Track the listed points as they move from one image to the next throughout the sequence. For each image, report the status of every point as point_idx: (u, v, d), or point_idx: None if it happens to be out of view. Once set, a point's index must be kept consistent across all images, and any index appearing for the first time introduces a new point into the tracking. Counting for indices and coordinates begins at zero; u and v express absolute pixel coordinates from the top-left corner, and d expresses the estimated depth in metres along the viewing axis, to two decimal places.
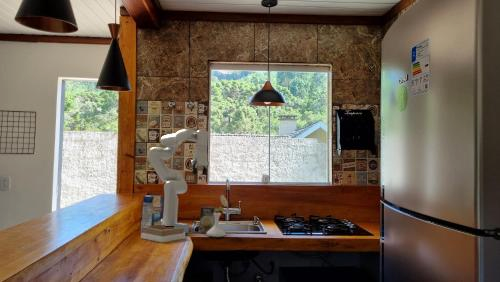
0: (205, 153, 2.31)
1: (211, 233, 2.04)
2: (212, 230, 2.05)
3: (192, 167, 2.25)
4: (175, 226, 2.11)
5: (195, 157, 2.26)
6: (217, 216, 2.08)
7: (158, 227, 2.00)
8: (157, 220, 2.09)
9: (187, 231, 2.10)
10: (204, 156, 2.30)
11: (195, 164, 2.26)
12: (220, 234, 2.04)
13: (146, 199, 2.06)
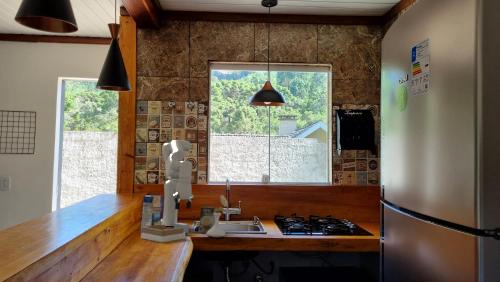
0: (189, 186, 2.14)
1: (211, 233, 2.04)
2: (212, 230, 2.05)
3: (174, 202, 2.08)
4: (175, 226, 2.11)
5: (178, 191, 2.09)
6: (217, 216, 2.08)
7: (158, 227, 2.00)
8: (157, 220, 2.09)
9: (187, 231, 2.10)
10: (188, 189, 2.13)
11: (178, 198, 2.09)
12: (220, 234, 2.04)
13: (146, 199, 2.06)
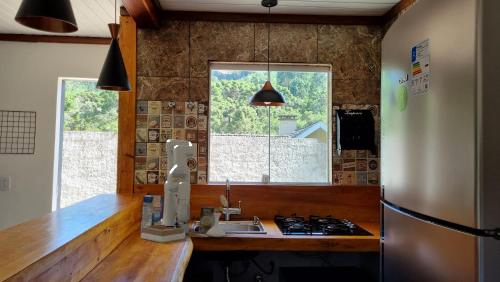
0: (187, 207, 2.13)
1: (211, 233, 2.04)
2: (212, 230, 2.05)
3: (175, 225, 2.09)
4: (175, 226, 2.11)
5: (176, 213, 2.08)
6: (217, 216, 2.08)
7: (158, 227, 2.00)
8: (157, 220, 2.09)
9: (187, 231, 2.10)
10: (186, 211, 2.12)
11: (177, 221, 2.09)
12: (220, 234, 2.04)
13: (146, 199, 2.06)
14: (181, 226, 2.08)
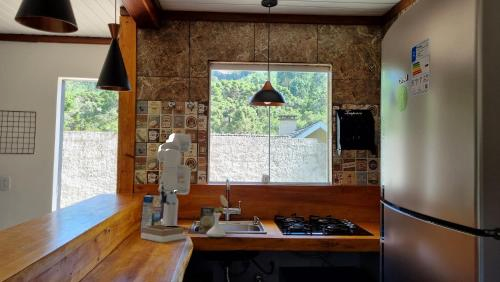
0: (174, 176, 1.99)
1: (211, 233, 2.04)
2: (212, 230, 2.05)
3: (161, 195, 1.95)
4: (161, 196, 1.97)
5: (162, 181, 1.94)
6: (217, 216, 2.08)
7: (158, 227, 2.00)
8: (157, 220, 2.09)
9: (174, 201, 1.96)
10: (173, 179, 1.98)
11: (163, 191, 1.95)
12: (220, 234, 2.04)
13: (146, 199, 2.06)
14: (167, 195, 1.94)
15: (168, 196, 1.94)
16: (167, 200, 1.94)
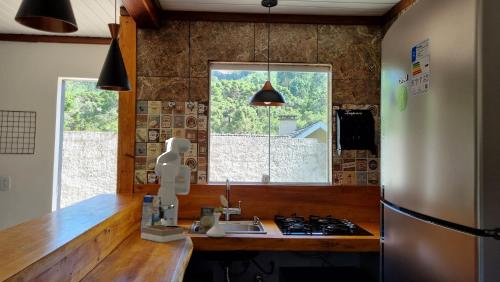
0: (172, 191, 1.97)
1: (211, 233, 2.04)
2: (212, 230, 2.05)
3: None
4: None
5: (159, 196, 1.92)
6: (217, 216, 2.08)
7: (158, 227, 2.00)
8: (157, 220, 2.09)
9: (172, 216, 1.94)
10: (171, 194, 1.96)
11: (161, 206, 1.93)
12: (220, 234, 2.04)
13: (146, 199, 2.06)
14: (165, 211, 1.92)
15: (166, 211, 1.92)
16: (165, 216, 1.92)
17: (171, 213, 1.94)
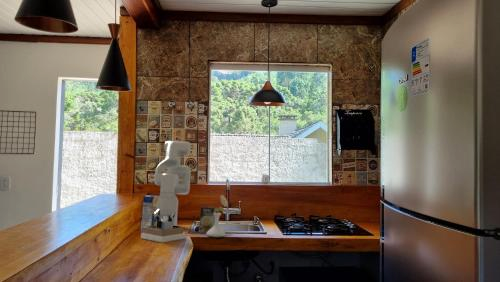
0: (171, 201, 1.96)
1: (211, 233, 2.04)
2: (212, 230, 2.05)
3: None
4: None
5: (158, 207, 1.92)
6: (217, 216, 2.08)
7: None
8: None
9: None
10: (170, 204, 1.95)
11: (159, 216, 1.92)
12: (220, 234, 2.04)
13: (146, 199, 2.06)
14: (164, 224, 1.91)
15: (164, 225, 1.91)
16: (163, 229, 1.91)
17: (170, 226, 1.93)
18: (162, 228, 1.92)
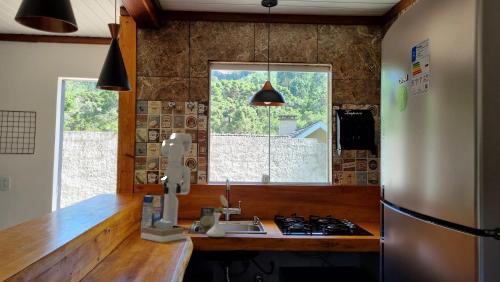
0: (179, 170, 2.05)
1: (211, 233, 2.04)
2: (212, 230, 2.05)
3: None
4: (158, 224, 1.94)
5: (167, 175, 2.01)
6: (217, 216, 2.08)
7: None
8: (157, 220, 2.09)
9: None
10: (177, 173, 2.04)
11: (167, 182, 2.01)
12: (220, 234, 2.04)
13: (146, 199, 2.06)
14: (164, 224, 1.91)
15: (164, 225, 1.91)
16: (163, 229, 1.91)
17: (170, 226, 1.93)
18: (162, 228, 1.92)
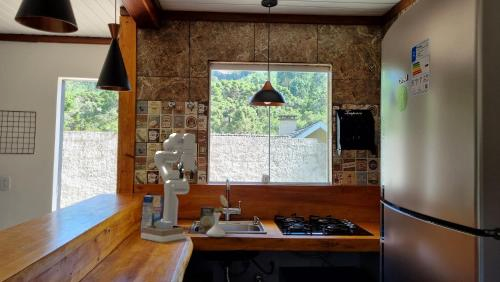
0: (192, 157, 2.26)
1: (211, 233, 2.04)
2: (212, 230, 2.05)
3: (179, 171, 2.21)
4: (158, 224, 1.94)
5: (182, 161, 2.22)
6: (217, 216, 2.08)
7: None
8: (157, 220, 2.09)
9: None
10: (191, 160, 2.25)
11: (182, 168, 2.22)
12: (220, 234, 2.04)
13: (146, 199, 2.06)
14: (164, 224, 1.91)
15: (164, 225, 1.91)
16: (163, 229, 1.91)
17: (170, 226, 1.93)
18: (162, 228, 1.92)
